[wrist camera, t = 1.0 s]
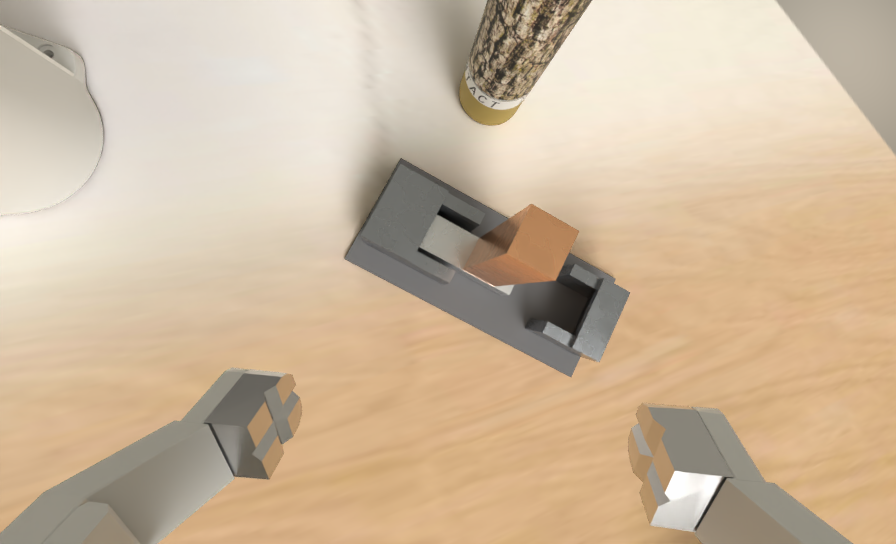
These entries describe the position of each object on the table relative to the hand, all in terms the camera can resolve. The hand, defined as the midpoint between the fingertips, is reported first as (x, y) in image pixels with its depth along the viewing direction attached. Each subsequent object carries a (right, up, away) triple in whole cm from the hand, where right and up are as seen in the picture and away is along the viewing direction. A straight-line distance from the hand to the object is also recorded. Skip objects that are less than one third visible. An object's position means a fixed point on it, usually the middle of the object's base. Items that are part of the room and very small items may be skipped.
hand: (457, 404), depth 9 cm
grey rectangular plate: (+4, +3, +32) cm, 32 cm away
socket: (+12, -1, +33) cm, 35 cm away
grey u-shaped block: (-3, +7, +31) cm, 32 cm away
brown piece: (0, +6, +30) cm, 31 cm away
